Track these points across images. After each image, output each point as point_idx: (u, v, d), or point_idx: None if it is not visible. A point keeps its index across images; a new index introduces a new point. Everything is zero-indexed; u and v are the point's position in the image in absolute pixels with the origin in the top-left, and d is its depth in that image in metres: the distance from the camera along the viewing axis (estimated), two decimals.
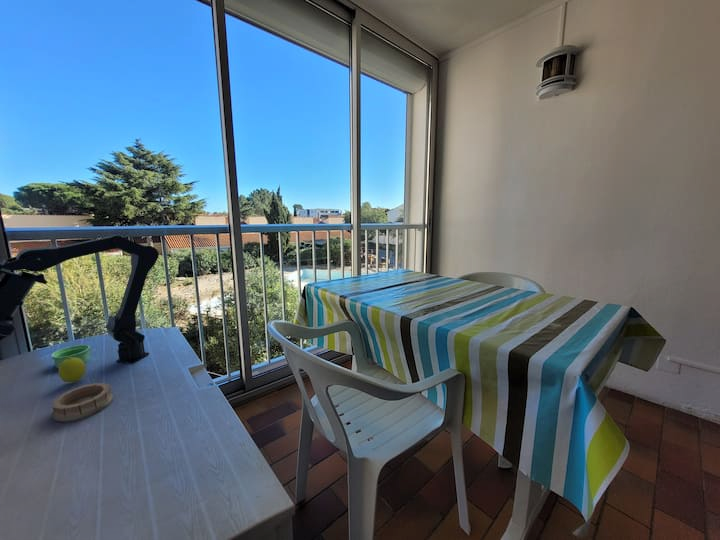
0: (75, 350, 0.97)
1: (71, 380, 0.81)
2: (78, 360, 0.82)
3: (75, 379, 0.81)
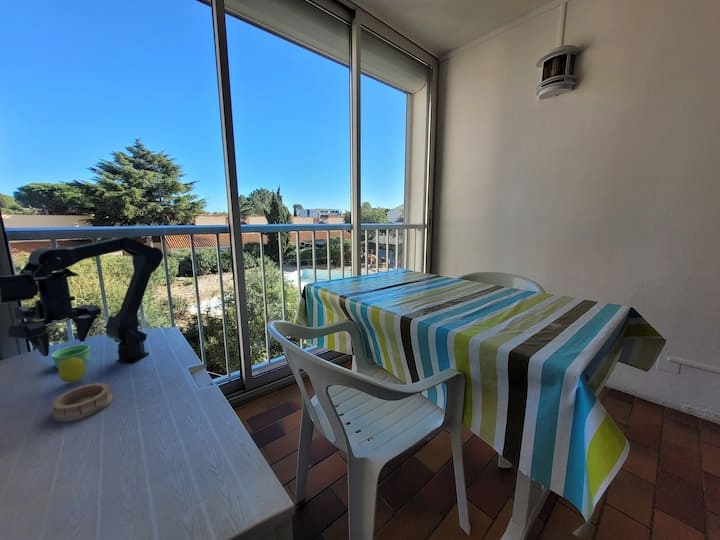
0: (75, 350, 0.97)
1: (71, 380, 0.81)
2: (78, 360, 0.82)
3: (75, 379, 0.81)
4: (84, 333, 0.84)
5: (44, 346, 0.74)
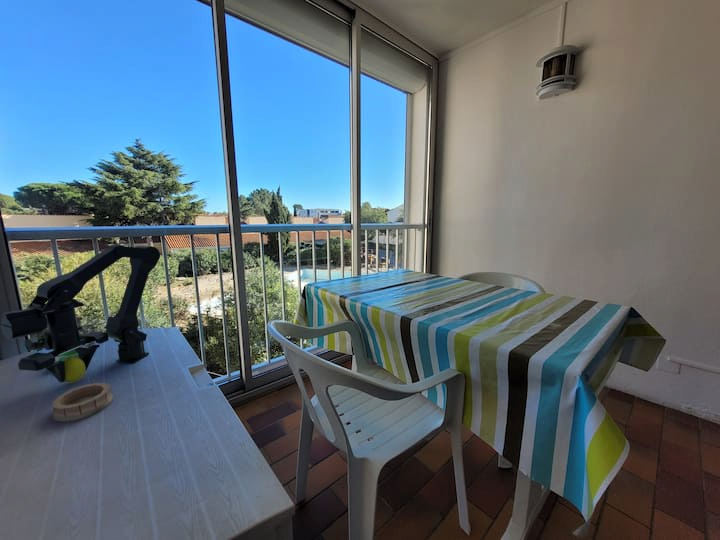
0: None
1: (71, 380, 0.81)
2: (78, 360, 0.82)
3: (75, 379, 0.81)
4: (86, 363, 0.85)
5: (60, 373, 0.78)
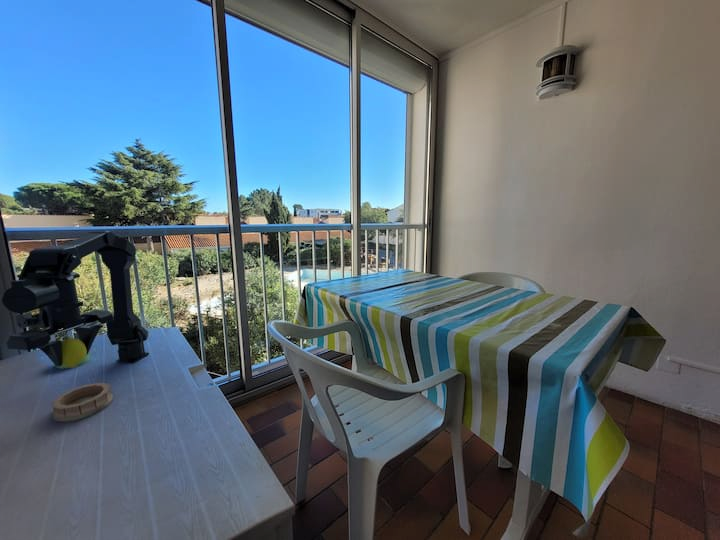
0: None
1: (69, 364, 0.69)
2: (78, 341, 0.71)
3: (74, 363, 0.70)
4: (88, 345, 0.73)
5: (57, 355, 0.67)
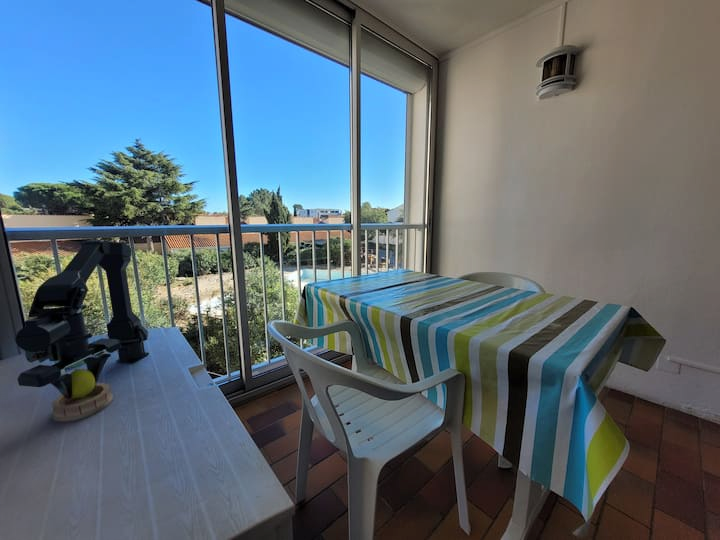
0: None
1: (79, 395, 0.70)
2: (86, 372, 0.71)
3: (83, 394, 0.71)
4: (96, 375, 0.74)
5: (67, 389, 0.67)
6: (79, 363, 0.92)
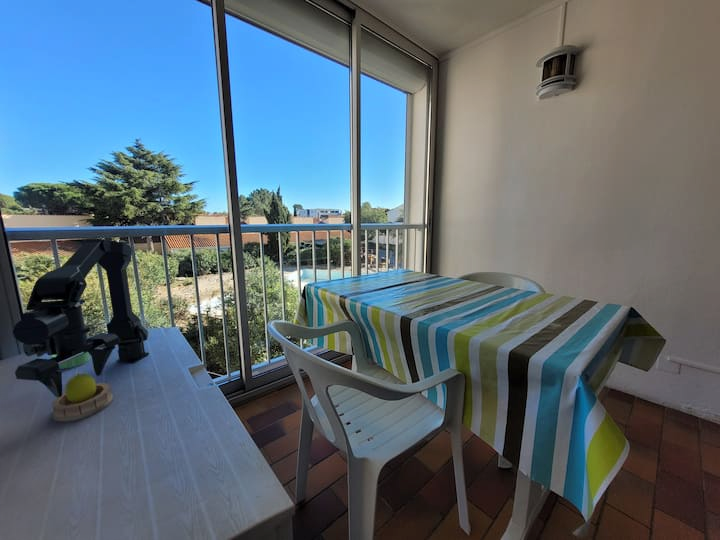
0: None
1: (80, 401, 0.70)
2: (88, 377, 0.72)
3: (84, 399, 0.71)
4: (101, 366, 0.75)
5: (57, 387, 0.65)
6: (79, 363, 0.92)
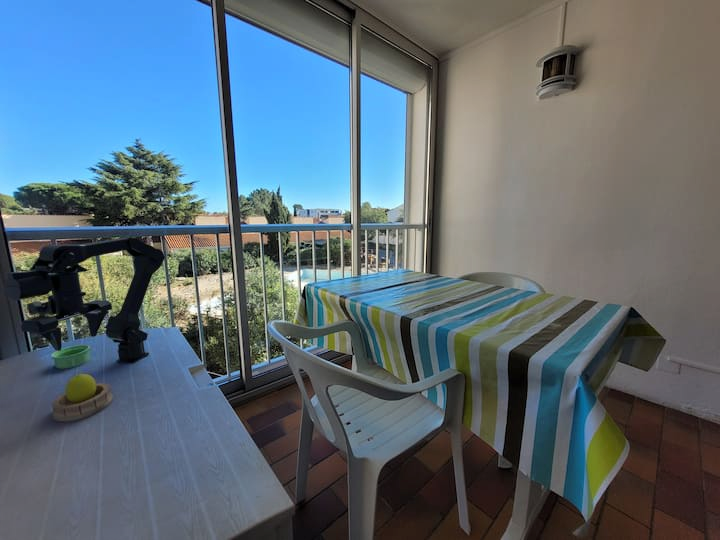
0: (75, 350, 0.97)
1: (80, 401, 0.70)
2: (88, 377, 0.72)
3: (84, 399, 0.71)
4: (96, 328, 0.85)
5: (57, 341, 0.75)
6: (79, 363, 0.92)
